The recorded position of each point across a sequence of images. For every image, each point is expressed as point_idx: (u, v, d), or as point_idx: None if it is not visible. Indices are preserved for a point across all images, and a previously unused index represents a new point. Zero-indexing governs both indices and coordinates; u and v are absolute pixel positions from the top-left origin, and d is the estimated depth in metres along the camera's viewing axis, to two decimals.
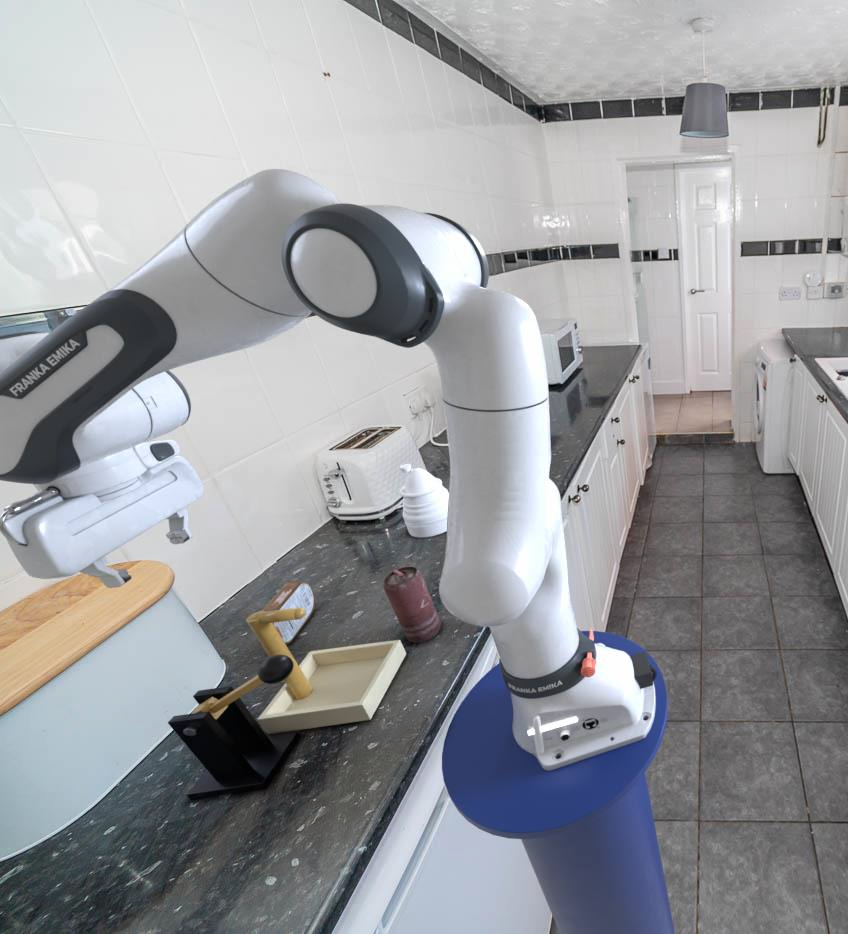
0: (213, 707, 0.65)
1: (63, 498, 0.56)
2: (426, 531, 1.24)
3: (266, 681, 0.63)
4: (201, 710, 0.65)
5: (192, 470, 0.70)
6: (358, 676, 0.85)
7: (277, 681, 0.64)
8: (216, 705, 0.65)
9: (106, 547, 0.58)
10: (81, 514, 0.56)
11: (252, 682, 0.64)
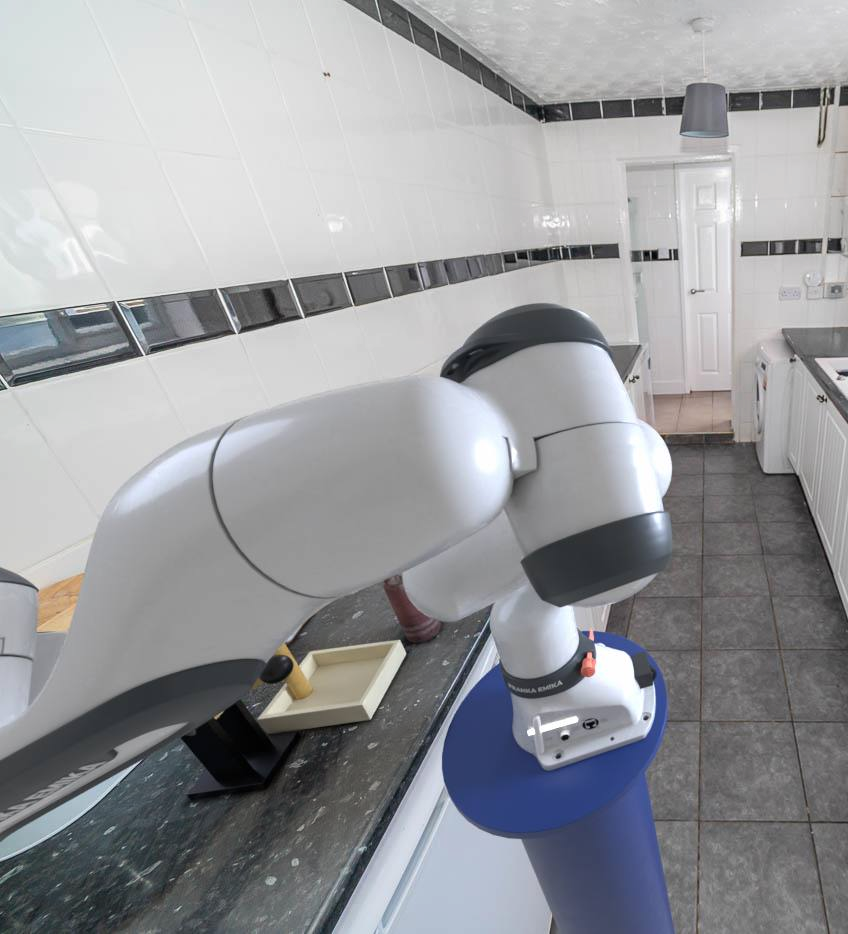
0: None
1: None
2: None
3: (266, 681, 0.63)
4: None
5: None
6: (358, 676, 0.85)
7: (277, 681, 0.64)
8: None
9: None
10: None
11: None
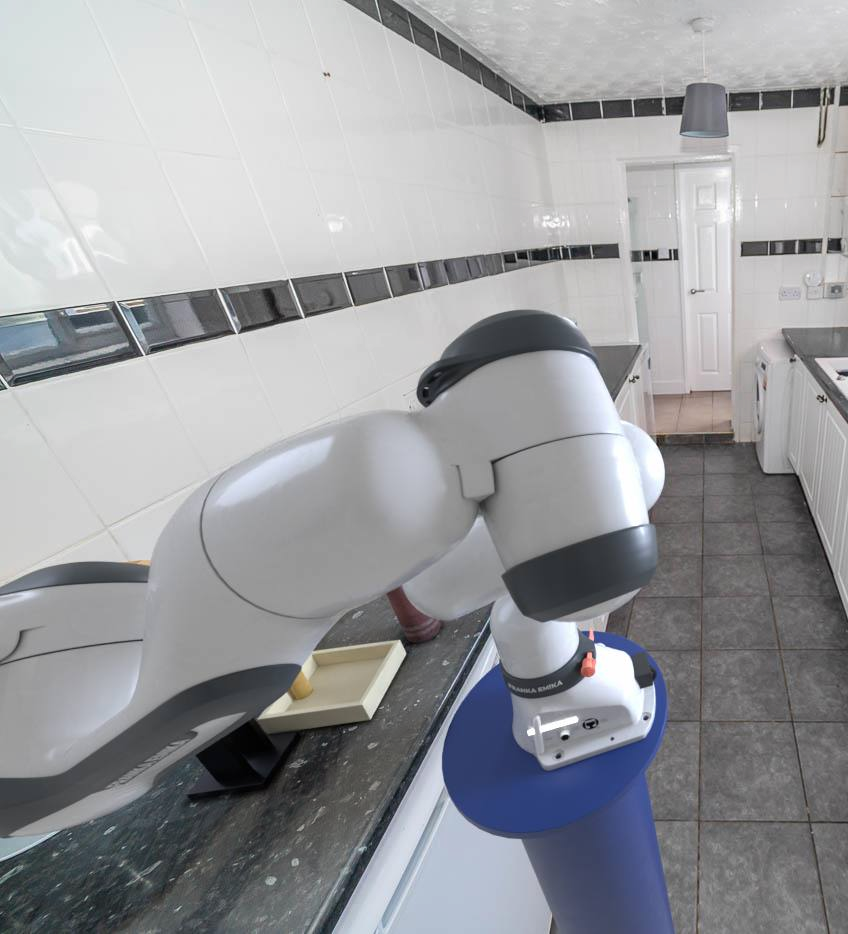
0: None
1: None
2: None
3: None
4: None
5: None
6: (358, 676, 0.85)
7: None
8: None
9: None
10: None
11: None
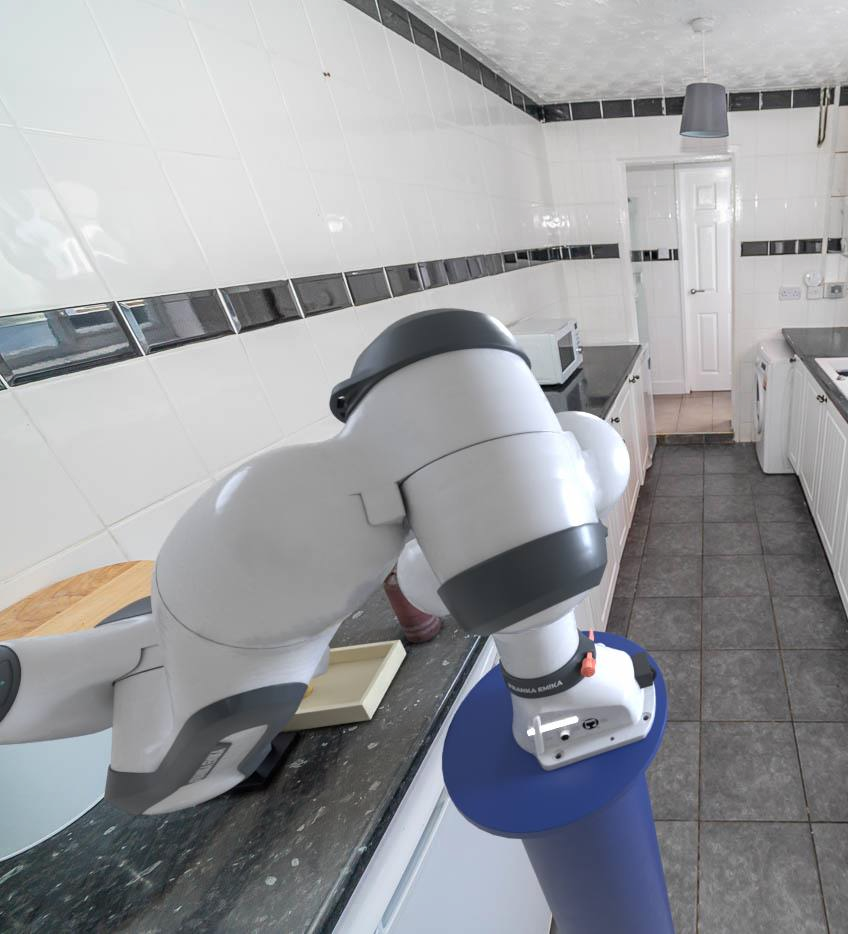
0: None
1: None
2: None
3: None
4: None
5: None
6: (358, 676, 0.85)
7: None
8: None
9: None
10: None
11: None
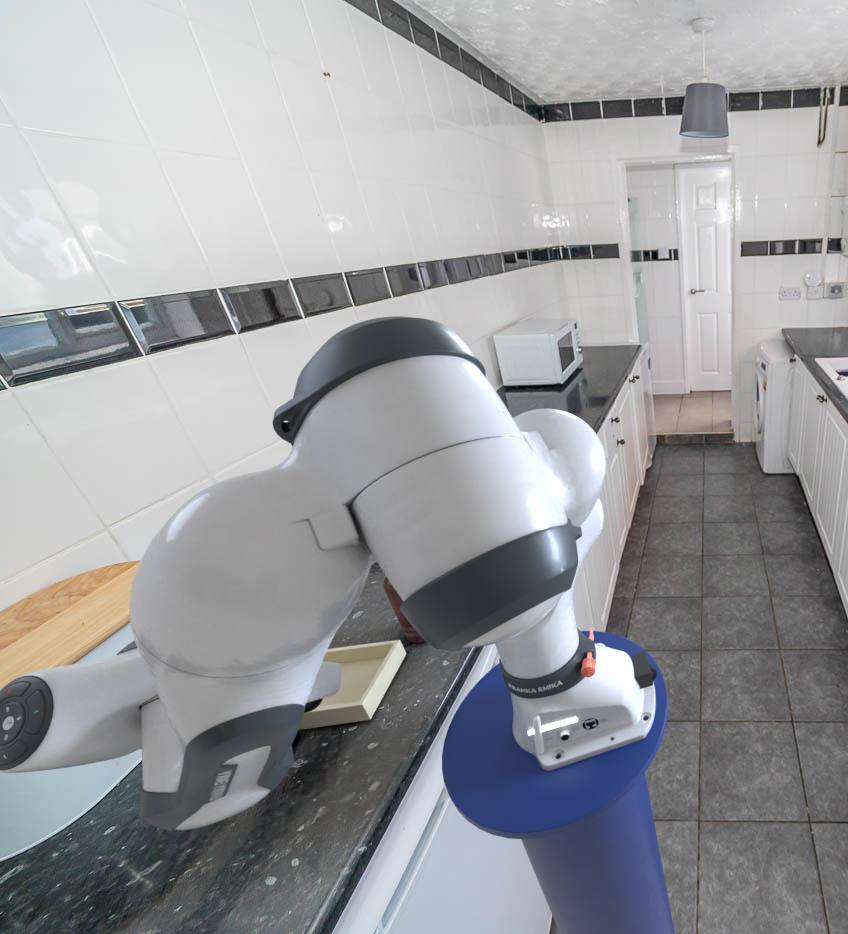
0: None
1: None
2: None
3: None
4: None
5: None
6: (358, 676, 0.85)
7: (306, 712, 0.67)
8: None
9: None
10: None
11: None
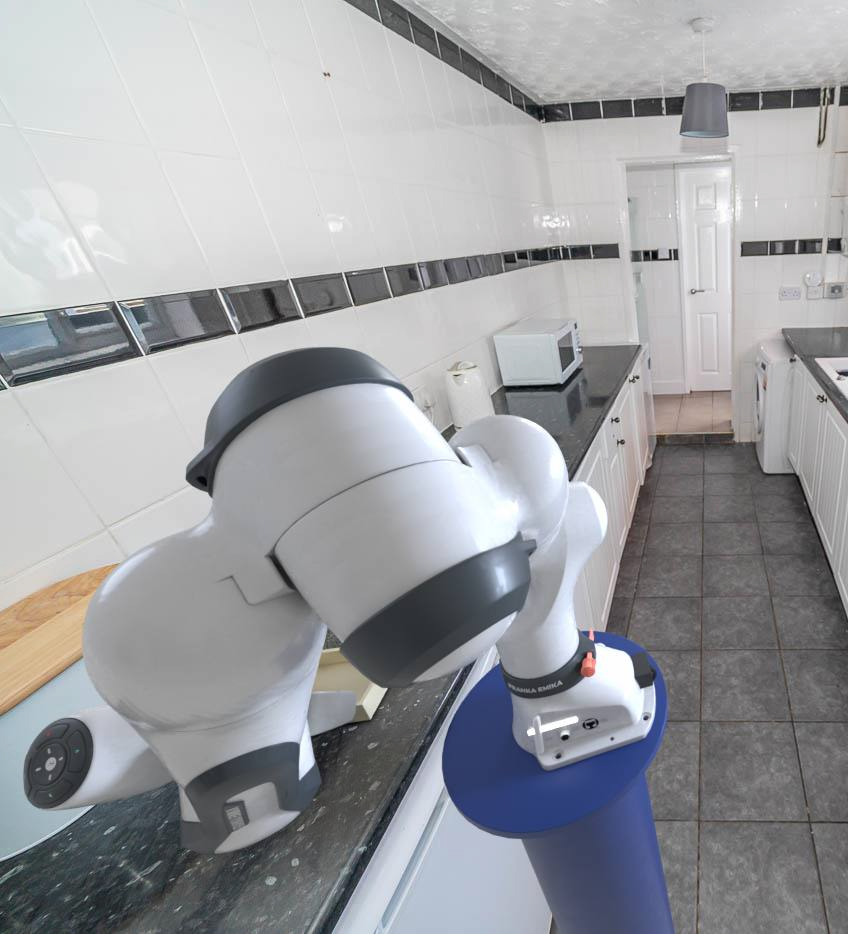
0: None
1: None
2: None
3: None
4: None
5: (329, 729, 0.60)
6: (358, 676, 0.85)
7: None
8: None
9: None
10: None
11: None
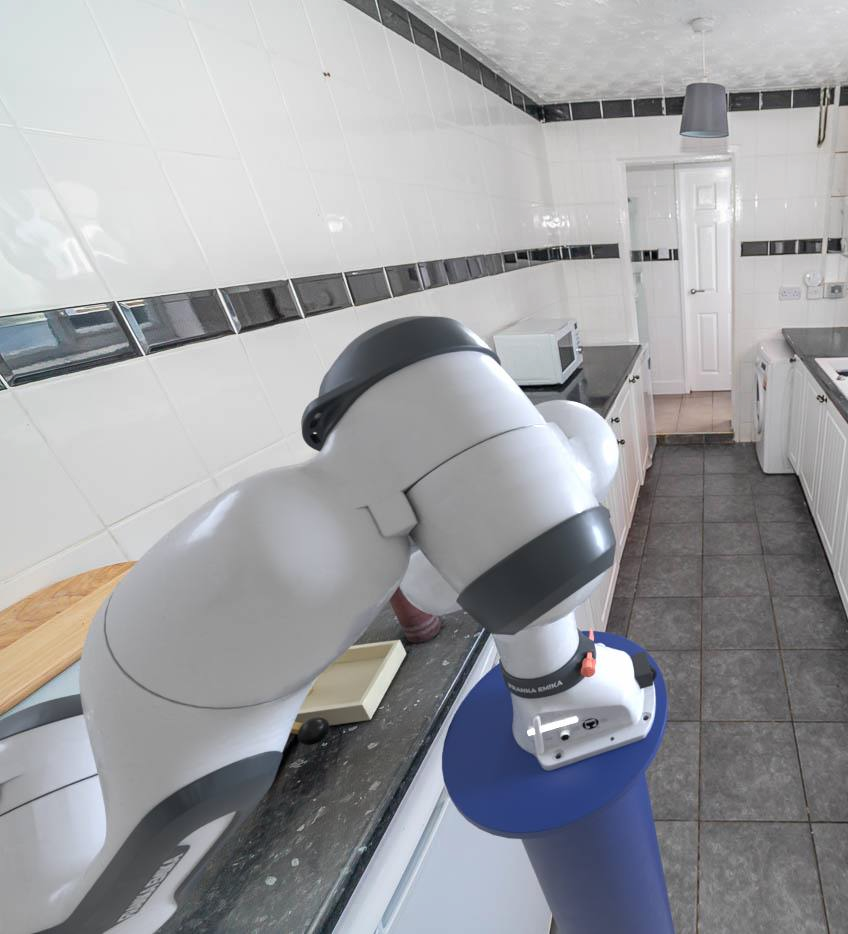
0: None
1: None
2: None
3: (304, 742, 0.68)
4: None
5: None
6: (358, 676, 0.85)
7: (308, 744, 0.69)
8: None
9: None
10: None
11: None
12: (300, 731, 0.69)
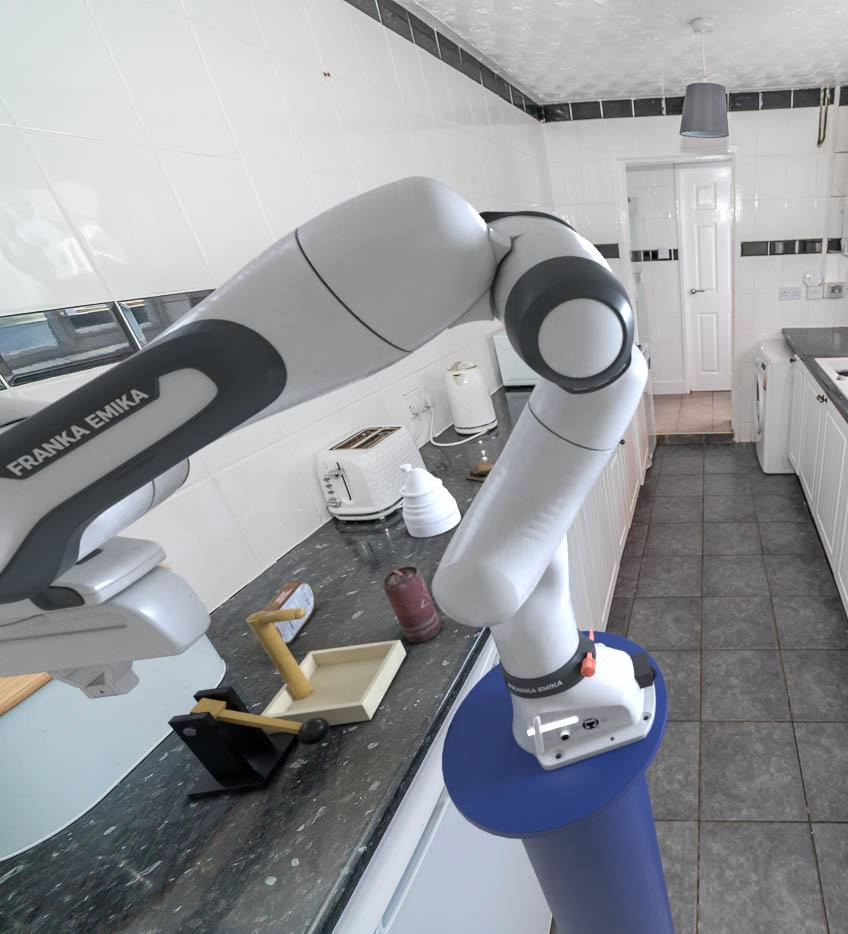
0: (223, 717, 0.66)
1: None
2: (426, 531, 1.24)
3: (304, 742, 0.68)
4: (214, 716, 0.65)
5: (146, 625, 0.41)
6: (358, 676, 0.85)
7: (308, 744, 0.69)
8: (228, 718, 0.66)
9: None
10: None
11: (285, 728, 0.68)
12: (300, 731, 0.69)
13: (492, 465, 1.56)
